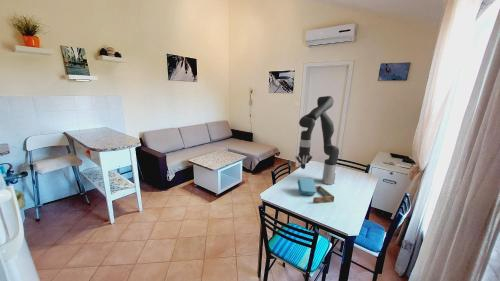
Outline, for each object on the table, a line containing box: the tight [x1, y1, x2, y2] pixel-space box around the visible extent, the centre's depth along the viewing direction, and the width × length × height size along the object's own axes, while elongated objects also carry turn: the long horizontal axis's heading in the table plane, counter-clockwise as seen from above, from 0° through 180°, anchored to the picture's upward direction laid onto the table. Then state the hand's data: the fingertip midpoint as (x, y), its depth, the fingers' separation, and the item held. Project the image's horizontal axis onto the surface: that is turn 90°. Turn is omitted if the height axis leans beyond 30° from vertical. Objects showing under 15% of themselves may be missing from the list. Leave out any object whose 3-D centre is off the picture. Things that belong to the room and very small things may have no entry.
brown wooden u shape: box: [312, 185, 335, 204], centre depth 152 cm, size 16×18×4 cm
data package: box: [297, 177, 317, 196], centre depth 156 cm, size 12×4×12 cm
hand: (302, 168), depth 147 cm, fingers closed
